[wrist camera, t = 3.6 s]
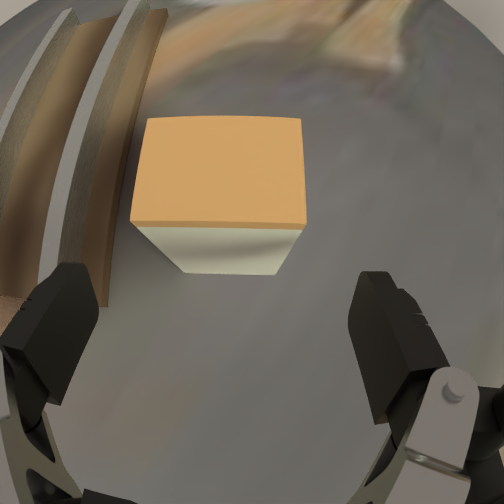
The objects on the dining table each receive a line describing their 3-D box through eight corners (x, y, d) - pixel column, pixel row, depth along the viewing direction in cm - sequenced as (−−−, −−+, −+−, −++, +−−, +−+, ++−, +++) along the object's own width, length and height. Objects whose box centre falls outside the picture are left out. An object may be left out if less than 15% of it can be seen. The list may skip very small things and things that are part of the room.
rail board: (-23, 291, 16) (-54, 283, 13) (61, 37, 22) (50, 15, 19) (107, 307, 17) (79, 302, 13) (168, 15, 23) (162, -12, 19)
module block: (184, 272, 17) (129, 220, 9) (188, 211, 18) (148, 118, 9) (275, 274, 17) (306, 223, 9) (274, 212, 18) (300, 118, 10)
